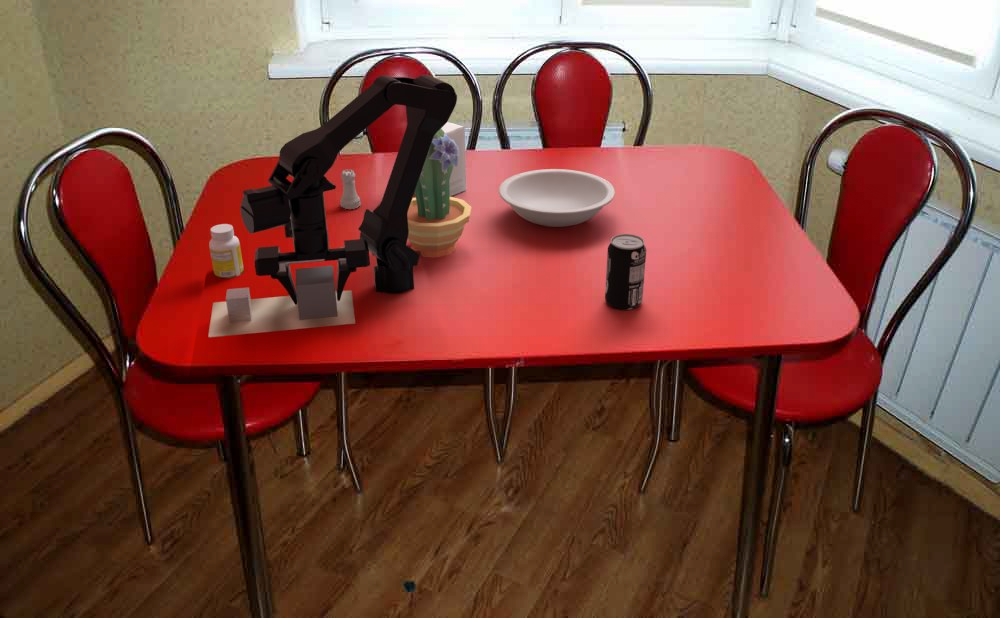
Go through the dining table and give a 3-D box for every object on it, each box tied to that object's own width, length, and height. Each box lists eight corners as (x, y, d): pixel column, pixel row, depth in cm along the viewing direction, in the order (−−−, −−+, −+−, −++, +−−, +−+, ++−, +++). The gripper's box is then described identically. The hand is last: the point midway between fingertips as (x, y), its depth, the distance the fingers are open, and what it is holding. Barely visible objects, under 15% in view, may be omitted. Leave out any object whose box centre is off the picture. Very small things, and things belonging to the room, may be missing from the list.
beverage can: (603, 293, 173) (607, 232, 167) (640, 293, 173) (644, 232, 167) (606, 311, 167) (609, 248, 161) (643, 311, 167) (648, 249, 161)
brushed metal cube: (252, 310, 166) (248, 287, 164) (251, 320, 163) (248, 297, 160) (230, 312, 165) (227, 289, 163) (229, 322, 162) (225, 299, 160)
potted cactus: (399, 268, 182) (391, 141, 170) (390, 234, 195) (382, 115, 183) (479, 260, 185) (477, 135, 173) (465, 228, 198) (462, 109, 186)
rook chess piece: (350, 200, 211) (347, 166, 207) (365, 205, 209) (362, 170, 205) (336, 207, 208) (332, 172, 204) (351, 212, 205) (348, 176, 201)
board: (351, 295, 173) (351, 290, 172) (355, 328, 162) (355, 323, 162) (214, 307, 169) (213, 302, 168) (209, 342, 158) (208, 337, 158)
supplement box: (467, 190, 216) (466, 126, 208) (438, 202, 210) (436, 136, 203) (440, 180, 221) (437, 117, 214) (410, 191, 216) (407, 126, 208)
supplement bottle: (232, 267, 183) (225, 219, 178) (250, 275, 180) (243, 227, 175) (208, 277, 179) (200, 229, 174) (226, 285, 176) (218, 237, 171)
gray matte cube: (336, 299, 169) (332, 265, 166) (337, 316, 164) (334, 282, 161) (299, 302, 168) (295, 268, 165) (299, 320, 163) (295, 285, 159)
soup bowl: (637, 224, 199) (639, 195, 196) (544, 253, 187) (544, 222, 184) (566, 188, 217) (567, 161, 213) (477, 213, 205) (476, 184, 202)
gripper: (362, 195, 166) (368, 275, 174) (251, 203, 163) (263, 285, 171) (366, 221, 156) (373, 305, 164) (249, 230, 153) (261, 315, 161)
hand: (317, 301), depth 165 cm, fingers open, 7 cm apart
